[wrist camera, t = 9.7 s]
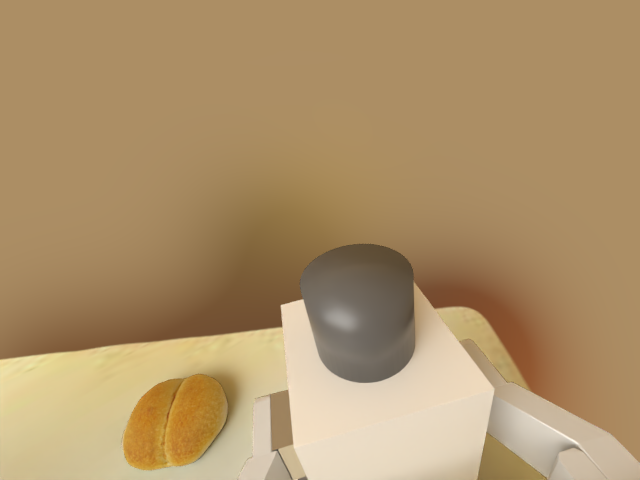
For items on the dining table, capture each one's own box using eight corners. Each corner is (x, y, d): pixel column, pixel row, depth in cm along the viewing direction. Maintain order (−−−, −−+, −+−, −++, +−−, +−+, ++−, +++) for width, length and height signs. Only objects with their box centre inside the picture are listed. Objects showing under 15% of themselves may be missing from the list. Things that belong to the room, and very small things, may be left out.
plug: (359, 595, 11) (264, 382, 5) (336, 471, 14) (262, 250, 8) (461, 562, 11) (508, 314, 5) (414, 448, 15) (404, 215, 8)
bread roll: (221, 464, 25) (204, 440, 23) (119, 481, 25) (93, 459, 23) (238, 376, 32) (225, 352, 30) (158, 390, 33) (140, 367, 31)
